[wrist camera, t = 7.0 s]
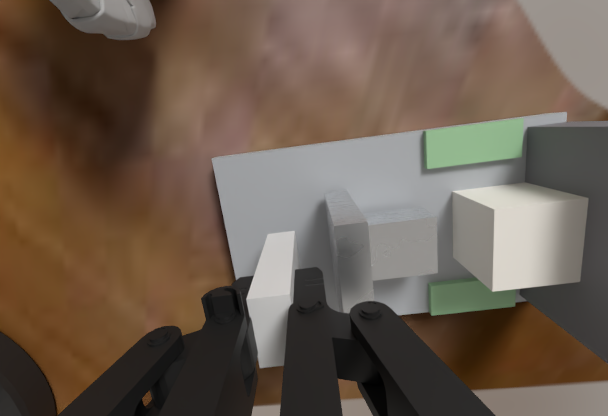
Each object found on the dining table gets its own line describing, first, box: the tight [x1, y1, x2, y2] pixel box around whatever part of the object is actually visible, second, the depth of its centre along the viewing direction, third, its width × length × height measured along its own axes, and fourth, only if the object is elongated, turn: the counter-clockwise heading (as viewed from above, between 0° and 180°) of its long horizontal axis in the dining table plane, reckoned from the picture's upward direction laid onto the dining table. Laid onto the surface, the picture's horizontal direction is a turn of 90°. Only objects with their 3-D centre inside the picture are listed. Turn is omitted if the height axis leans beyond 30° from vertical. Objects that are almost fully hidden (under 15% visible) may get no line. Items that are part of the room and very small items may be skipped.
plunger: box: [324, 189, 438, 313], centre depth 15 cm, size 5×6×6 cm
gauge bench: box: [212, 112, 608, 363], centre depth 15 cm, size 19×11×8 cm, turn 97°
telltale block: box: [452, 182, 589, 292], centre depth 16 cm, size 4×4×4 cm
